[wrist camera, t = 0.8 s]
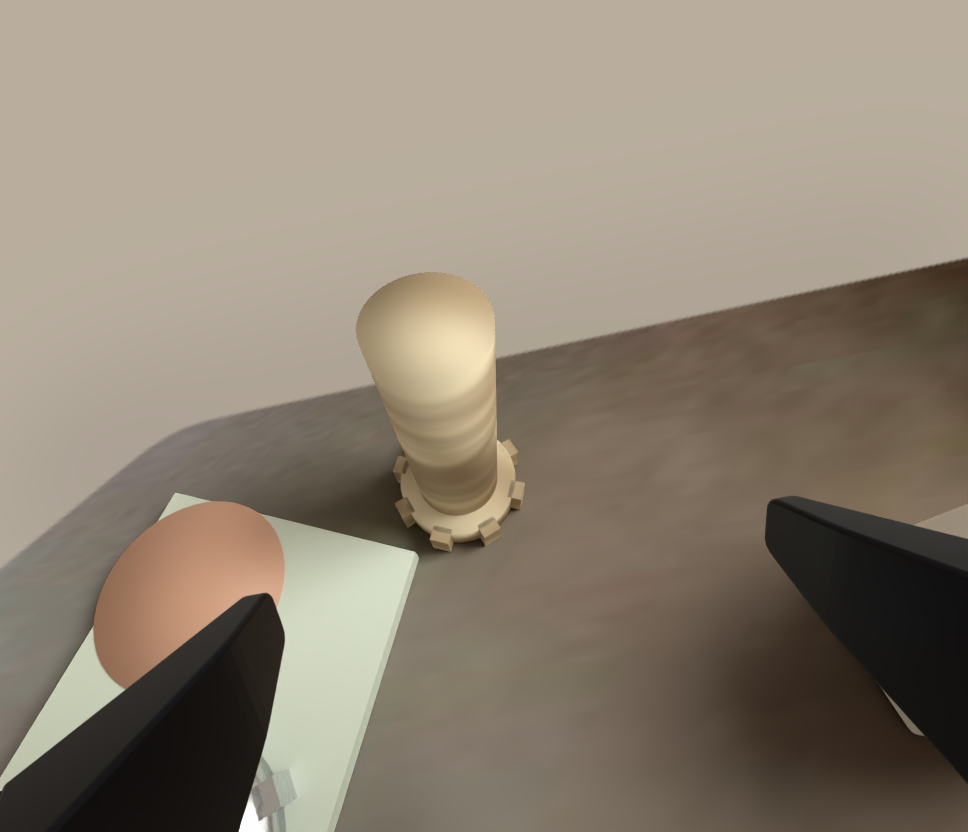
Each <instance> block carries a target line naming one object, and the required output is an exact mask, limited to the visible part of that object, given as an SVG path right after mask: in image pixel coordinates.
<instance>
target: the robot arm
mask: <svg viewBox="0 0 968 832" xmlns="http://www.w3.org/2000/svg"><path fill="white" fill-rule="evenodd" d="M765 542H766V545H767V548H768V550H769V552H770V553H771V554H772V556H773V557H774V558H775V560H776V561H777V562H778V564H779V565H780V566H781V568H782V569H783V570H784V572H785V573H786V574H787V576H788V577H789V578H790V580H791V581H792V582H793V584H794V585H795V586H796V588H797V589H798V590H799V592H800V593H801V594H802V596H803V597H804V598H805V600H806V601H807V602H808V604H809V605H810V606H811V608H812V609H813V610H814V612H815V613H816V614H817V615H818V617H819V618H820V619H821V620H822V622H823V623H824V624H825V625H826V627H827V628H828V629H829V630H830V631H831V632H832V634H833V635H834V636H835V637H836V638H837V639H838V640H839V642H840V643H841V644H842V645H843V646H844V647H845V648H846V649H847V650H848V652H849V653H850V654H851V655H852V656H853V657H854V658H855V659H856V660H857V662H858V663H859V664H860V665H861V666H862V667H863V668H864V669H865V670H866V672H867V673H868V674H869V675H870V676H871V677H872V678H873V679H874V680H875V681H876V683H877V684H878V685H879V686H880V687H881V688H882V689H883V690H884V691H885V693H886V694H887V695H888V696H889V697H890V698H891V699H892V700H893V701H894V703H895V704H896V705H897V706H898V707H899V708H900V709H901V710H902V711H903V713H904V714H905V715H906V716H907V717H908V718H909V719H910V720H911V721H912V723H913V724H914V725H915V726H916V727H917V728H918V729H919V730H920V731H921V733H922V734H923V735H924V736H925V737H926V738H927V739H928V740H929V741H930V743H931V744H932V745H933V746H934V747H935V748H936V749H937V750H938V751H939V753H940V754H941V755H942V756H943V757H944V758H945V759H946V760H947V761H948V763H949V764H950V765H951V766H952V767H953V768H954V769H955V770H956V771H957V773H958V774H959V775H960V776H961V777H962V778H963V779H964V780H965V781H966V783H967V784H968V539H967V538H963V537H959V536H955V535H951V534H947V533H943V532H939V531H934V530H930V529H926V528H922V527H918V526H914V525H910V524H906V523H902V522H898V521H894V520H890V519H886V518H882V517H878V516H874V515H870V514H866V513H862V512H858V511H854V510H850V509H846V508H842V507H838V506H834V505H830V504H826V503H822V502H818V501H814V500H810V499H806V498H802V497H798V496H787V497H782V498H776V499H772V500H771V501H770V502H769V503H768V505H767V515H766V529H765ZM284 645H285V632H284V628H283V625H282V622H281V619H280V616H279V614H278V611H277V608H276V605H275V602H274V600H273V598H272V596H271V595H270V594H268V593H260V594H254V595H249V596H245V597H242V598H241V599H240V600H238V601H237V602H236V603H235V604H233V605H232V606H231V607H230V608H228V609H227V610H226V611H224V612H223V613H222V614H221V615H219V616H218V617H217V618H216V619H214V620H213V621H212V622H210V623H209V624H208V625H207V626H205V627H204V628H203V629H202V630H200V631H199V632H198V633H197V634H195V635H194V636H193V637H191V638H190V639H189V640H188V641H186V642H185V643H184V644H183V645H181V646H180V647H179V648H177V649H176V650H175V651H174V652H172V653H171V654H170V655H169V656H167V657H166V658H165V659H163V660H162V661H161V662H160V663H158V664H157V665H156V666H155V667H153V668H152V669H151V670H150V671H148V672H147V673H146V674H144V675H143V676H142V677H141V678H139V679H138V680H137V681H136V682H134V683H133V684H132V685H130V686H129V687H128V688H127V689H125V690H124V691H123V692H122V693H120V694H119V695H118V696H117V697H115V698H114V699H113V700H111V701H110V702H109V703H108V704H106V705H105V706H104V707H103V708H101V709H100V710H99V711H97V712H96V713H95V714H94V715H92V716H91V717H90V718H89V719H87V720H86V721H85V722H84V723H82V724H81V725H80V726H78V727H77V728H76V729H75V730H73V731H72V732H71V733H70V734H68V735H67V736H66V737H64V738H63V739H62V740H61V741H59V742H58V743H57V744H56V745H54V746H53V747H52V748H50V749H49V750H48V751H47V752H45V753H44V754H43V755H42V756H40V757H39V758H38V759H37V760H35V761H34V762H33V763H31V764H30V765H29V766H28V767H26V768H25V769H24V770H23V771H21V772H20V773H19V774H17V775H16V776H15V777H14V778H12V779H11V780H10V781H9V782H7V783H6V784H5V785H4V787H3V789H2V791H0V832H239V830H240V827H241V823H242V820H243V816H244V813H245V810H246V806H247V803H248V800H249V796H250V793H251V789H252V786H253V783H254V779H255V776H256V773H257V769H258V766H259V762H260V759H261V756H262V752H263V748H264V745H265V741H266V737H267V733H268V728H269V724H270V719H271V714H272V708H273V703H274V698H275V693H276V687H277V682H278V677H279V672H280V666H281V661H282V656H283V651H284Z"/></svg>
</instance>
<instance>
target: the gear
mask: <svg viewBox="0 0 968 832" xmlns="http://www.w3.org/2000/svg"><path fill="white" fill-rule="evenodd" d="M296 798H297V794H296V791H295V788H294V784H293V781H292V778H291V775H290V771H289V769H287V770H285V771H282V772H279V773H277V774H273V772H272V770H271V769H270V767H269V765H268V763H267V762H266V761H265V759H264V758H263V757H262V756H261V759H260V762H259V766H258V769H257V773H256V776H255V779H254V783H253V786H252V789H251V793H250V796H249V800H248V803H247V806H246V810H245V813H244V816H243V820H242V823H241V827H240V830H239V832H286V823H285V813H284V807H285V806H286V805H287V804H289V803H290V802H292V801H293V800H295V799H296Z"/></svg>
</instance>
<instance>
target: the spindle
mask: <svg viewBox="0 0 968 832" xmlns="http://www.w3.org/2000/svg"><path fill="white" fill-rule="evenodd" d="M356 334H357V340H358V343H359V346H360V348H361V351H362V353H363V356H364V358H365V360H366V362H367V365H368V367H369V370H370V372H371V374H372V377H373V380H374V382H375V384H376V387H377V389H378V392H379V394H380V396H381V399H382V401H383V404H384V406H385V408H386V411H387V413H388V416H389V418H390V420H391V423H392V425H393V428H394V430H395V432H396V435H397V437H398V440H399V442H400V444H401V447H402V449H403V452H404V454H405V456H406V457H402V456H398V458H397V460H396V463H395V466H394V469H393V473H394V475H395V477H396V479H397V481H398V483H401V493H402V496H403V499H401V500H399V501H398V502H396V503H394V504H395V506H396V508H397V510H398V511H399V513H400V515H401V517H402V519H403V521H404V522H405V524H406V526H407V527H410V526H412V525H413V524H415V523H417V524H418V526H419V527H420V528H421V529H423V530H424V531H425V532H426V533H428V534H429V535H431V537H430V541H431V543H432V545H433V547H434V548H437V549H441V550H445V551H449V552H451V550H452V547H453V543H454V542H456V543H461V542H469V541H474V540H477V539H479V538H481V540H482V541H483V543H484V545H485V546H487V545H489V544H490V543H492V542H493V541H495V540H497V539H498V538H500V537H501V528H500V526H499V525H500V524H501V523H502V522H503V521H504V519H505V518H506V516H507V515H508V513H509V511H510V509H511V508H514V509H518V510H520V508H521V504H522V499H523V494H524V486H525V483H522V482H518V481H515V469H514V466H515V465H517V463H518V451H517V450H516V448H515V447H514V446H513V444H512V443H511V441H510V440H509V439H508V440H506V441H505V442H503V443H500V442H499V441H498V440H497V421H496V364H495V317H494V311H493V308H492V305H491V303H490V301H489V299H488V298H487V296H486V295H485V294H484V293H483V292H482V291H481V290H480V289H479V288H478V287H477V286H476V285H474V284H472V283H471V282H469V281H468V280H465V279H463V278H461V277H458V276H454V275H450V274H445V273H429V272H428V273H418V274H413V275H409V276H405V277H402V278H399V279H397V280H394V281H392V282H391V283H388V284H387V285H385V286H383V287H382V288H381V289H379V290H378V291H377V292H375V293H374V294H373V295H372V296H371V297H370V298H369V299H368V301H367V302H366V303H365V305H364V306H363V308H362V310H361V312H360V314H359V316H358V320H357V326H356Z"/></svg>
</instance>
